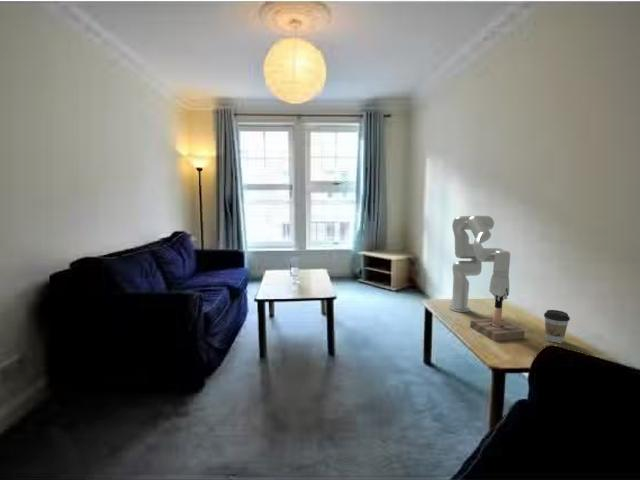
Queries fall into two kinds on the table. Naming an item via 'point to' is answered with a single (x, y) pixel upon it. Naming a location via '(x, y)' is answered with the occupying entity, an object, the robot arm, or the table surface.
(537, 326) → the table surface
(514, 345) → the table surface
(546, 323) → the coffee cup
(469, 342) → the table surface
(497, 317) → the peg
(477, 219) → the robot arm
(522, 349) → the table surface
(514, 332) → the board
